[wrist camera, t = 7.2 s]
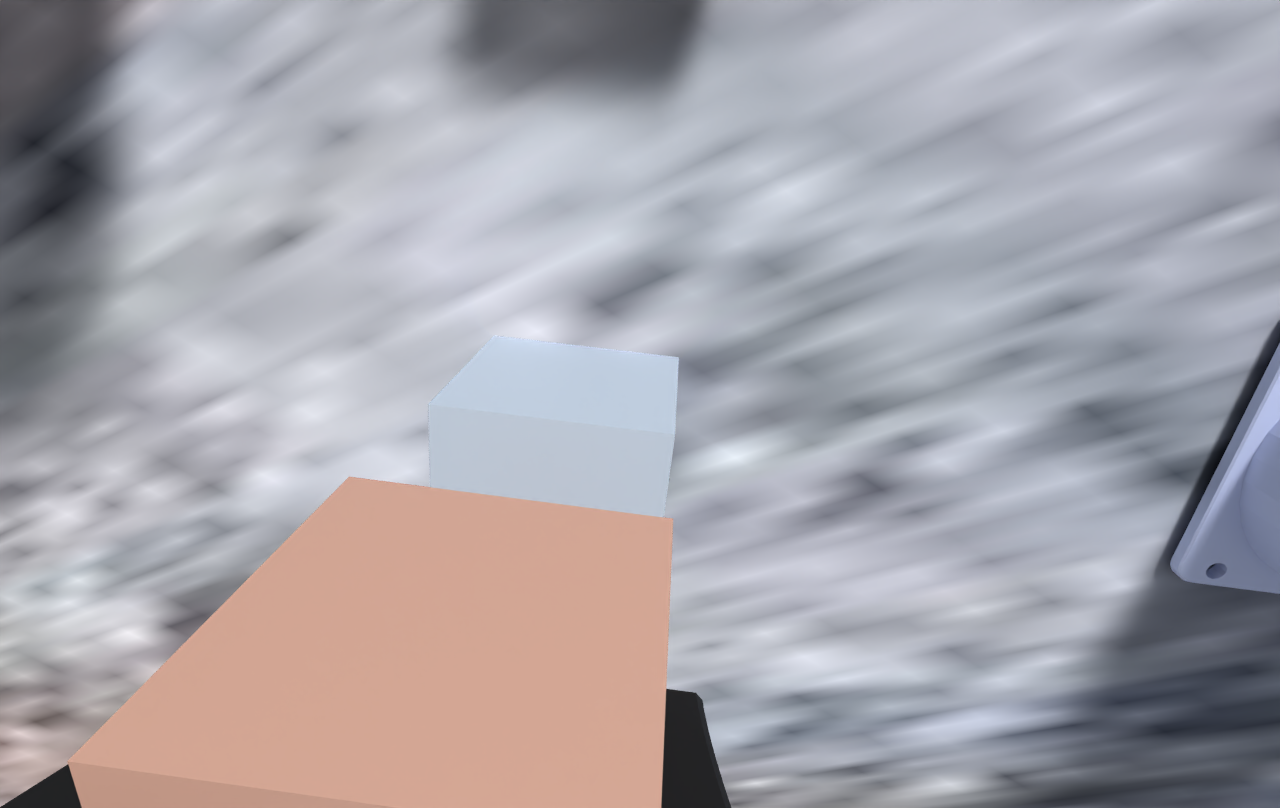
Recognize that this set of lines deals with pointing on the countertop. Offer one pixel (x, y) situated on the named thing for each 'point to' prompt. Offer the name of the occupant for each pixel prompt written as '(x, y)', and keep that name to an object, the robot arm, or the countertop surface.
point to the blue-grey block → (558, 426)
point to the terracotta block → (414, 666)
